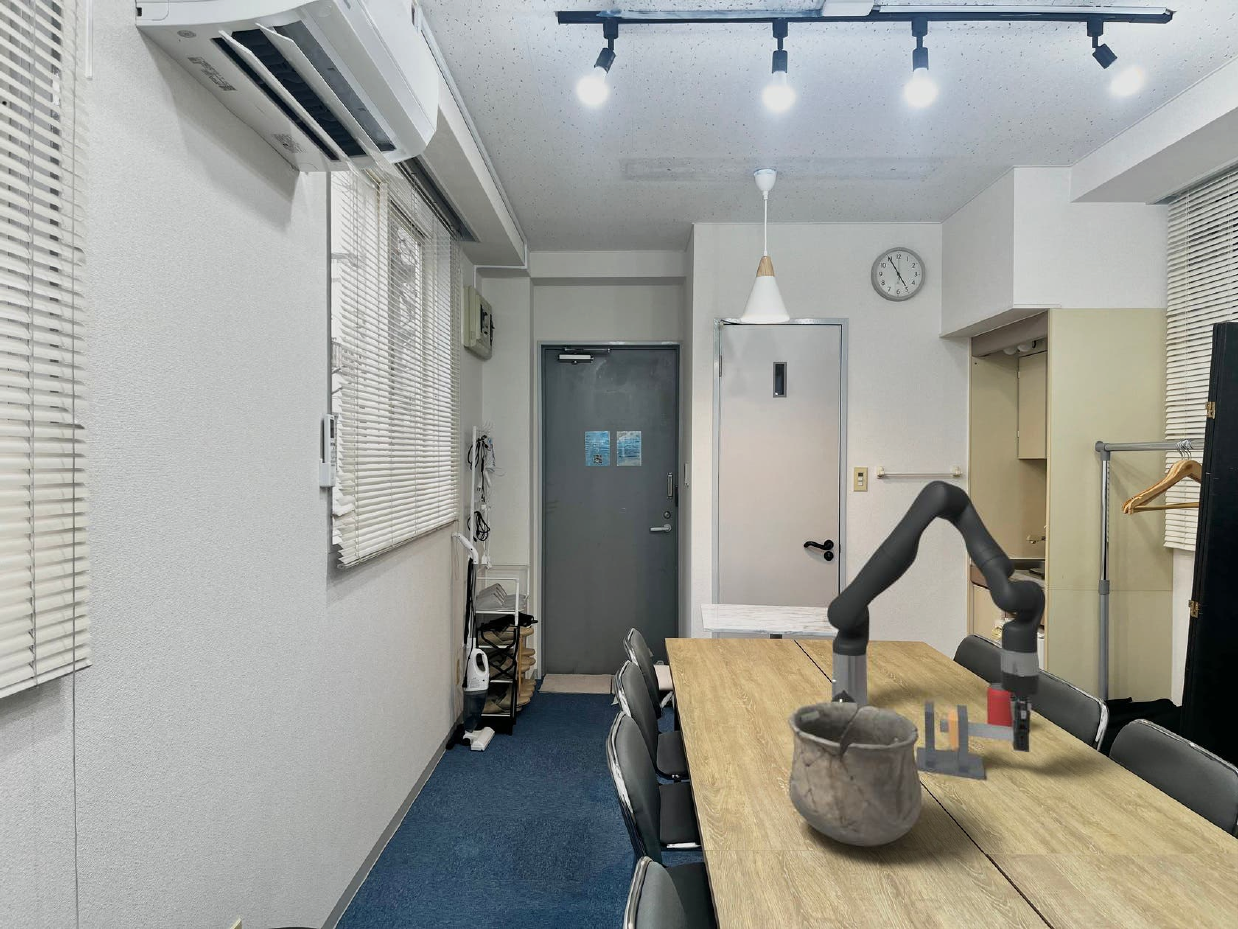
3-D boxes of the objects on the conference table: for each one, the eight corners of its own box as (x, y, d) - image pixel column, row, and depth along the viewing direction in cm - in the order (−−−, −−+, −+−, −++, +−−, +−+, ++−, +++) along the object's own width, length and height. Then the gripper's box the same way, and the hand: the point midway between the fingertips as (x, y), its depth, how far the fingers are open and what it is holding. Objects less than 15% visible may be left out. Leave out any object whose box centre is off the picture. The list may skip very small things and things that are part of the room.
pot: (846, 882, 117) (844, 754, 117) (763, 819, 139) (761, 711, 139) (953, 849, 127) (951, 731, 127) (861, 795, 149) (859, 694, 149)
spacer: (948, 746, 161) (948, 720, 161) (948, 737, 166) (947, 711, 166) (958, 747, 160) (958, 721, 160) (957, 738, 165) (957, 712, 165)
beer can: (1020, 737, 179) (1019, 690, 180) (992, 735, 181) (991, 689, 181) (1011, 728, 186) (1010, 682, 186) (984, 726, 187) (983, 681, 187)
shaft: (940, 740, 163) (939, 714, 163) (940, 735, 165) (939, 710, 166) (1029, 752, 155) (1028, 725, 155) (1027, 747, 158) (1027, 720, 158)
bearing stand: (915, 770, 161) (915, 713, 161) (917, 750, 172) (916, 697, 172) (984, 780, 155) (983, 721, 155) (981, 759, 166) (980, 705, 166)
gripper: (998, 659, 165) (999, 732, 165) (1003, 676, 152) (1004, 755, 152) (1034, 663, 162) (1035, 737, 162) (1043, 680, 149) (1044, 760, 149)
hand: (1020, 745), depth 157 cm, fingers closed on shaft, 3 cm apart
